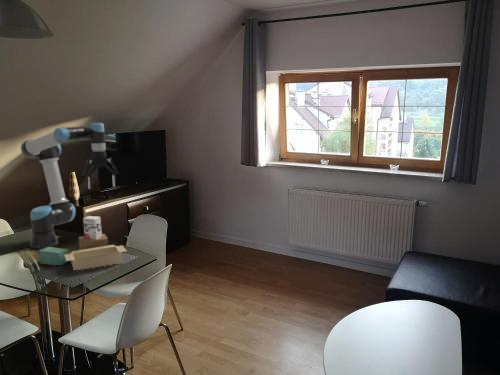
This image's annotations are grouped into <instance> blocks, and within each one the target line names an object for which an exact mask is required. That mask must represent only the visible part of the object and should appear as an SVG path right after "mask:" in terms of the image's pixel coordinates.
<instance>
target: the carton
mask: <svg viewBox="0 0 500 375" xmlns="http://www.w3.org/2000/svg"><path fill="white" fill-rule="evenodd" d="M126 252H128V250H127V249H126V247H125V246H124V245H115V244H108V246H102V247H95V248H89V249H82V250H80V249H77V250H72V251H71V252H70V253H69V254H65V255H64V256H65V259H66V261H69V262H70V264H72V265H71V268H72V267H73V268H72V270H80V269H86V268H92V267H98V266H104V267H107V266H106V265H109V266H114V265H113V264H115V265H121V264H123V255H122V254H123V253H126ZM98 268H99V267H98ZM92 269H93V268H92Z"/></svg>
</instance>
